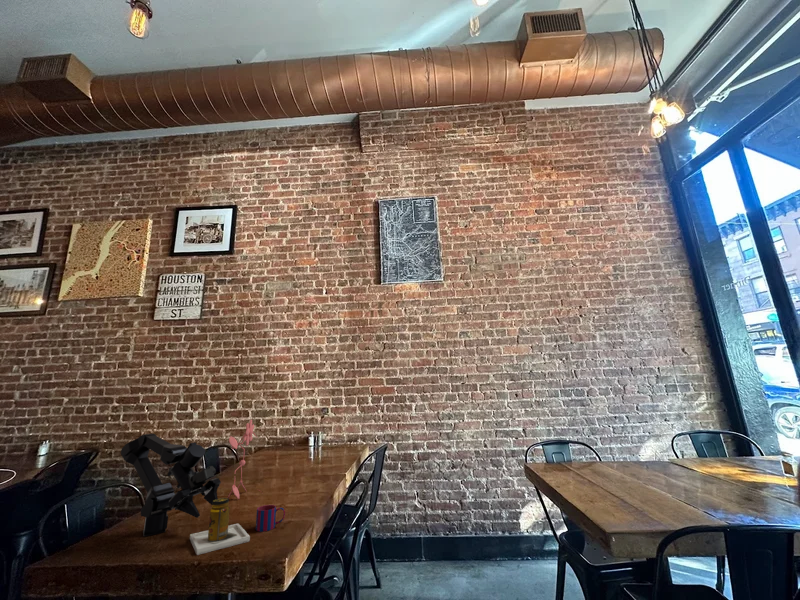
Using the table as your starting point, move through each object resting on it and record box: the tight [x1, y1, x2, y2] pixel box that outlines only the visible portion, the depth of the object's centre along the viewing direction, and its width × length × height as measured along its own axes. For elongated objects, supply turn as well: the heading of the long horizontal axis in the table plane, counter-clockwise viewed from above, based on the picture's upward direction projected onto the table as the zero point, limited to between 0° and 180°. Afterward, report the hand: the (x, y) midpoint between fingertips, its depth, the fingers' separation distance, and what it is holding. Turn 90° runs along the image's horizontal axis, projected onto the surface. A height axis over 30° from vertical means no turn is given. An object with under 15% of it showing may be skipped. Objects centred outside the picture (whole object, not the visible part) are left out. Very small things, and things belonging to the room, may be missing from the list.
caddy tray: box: [189, 523, 251, 556], centre depth 121 cm, size 16×16×2 cm
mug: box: [255, 504, 286, 533], centre depth 132 cm, size 7×10×7 cm
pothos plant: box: [227, 419, 263, 500], centre depth 176 cm, size 15×26×35 cm, turn 4°
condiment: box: [202, 497, 237, 544], centre depth 123 cm, size 7×8×12 cm
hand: (208, 512), depth 124 cm, fingers open, 9 cm apart
